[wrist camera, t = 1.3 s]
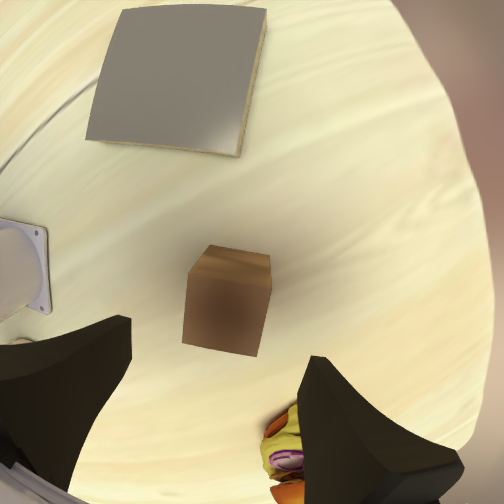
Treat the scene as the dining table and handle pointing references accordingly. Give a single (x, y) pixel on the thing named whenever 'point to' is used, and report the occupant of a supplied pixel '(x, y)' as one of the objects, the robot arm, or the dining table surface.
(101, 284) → the dining table surface
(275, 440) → the cheeseburger
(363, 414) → the robot arm
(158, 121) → the slate base
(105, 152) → the dining table surface
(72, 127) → the dining table surface
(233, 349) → the walnut block
